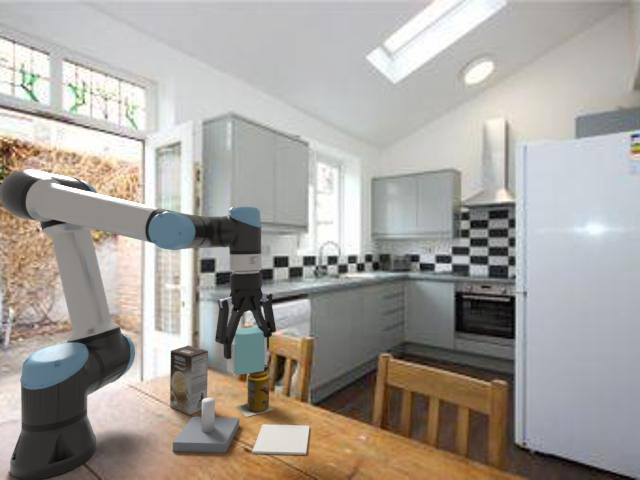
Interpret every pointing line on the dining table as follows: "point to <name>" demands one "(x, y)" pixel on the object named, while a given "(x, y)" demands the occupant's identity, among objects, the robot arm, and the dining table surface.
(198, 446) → the post base
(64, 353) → the robot arm
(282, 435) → the mat
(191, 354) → the coffee box
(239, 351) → the teal rectangular block
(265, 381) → the condiment
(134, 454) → the dining table surface
